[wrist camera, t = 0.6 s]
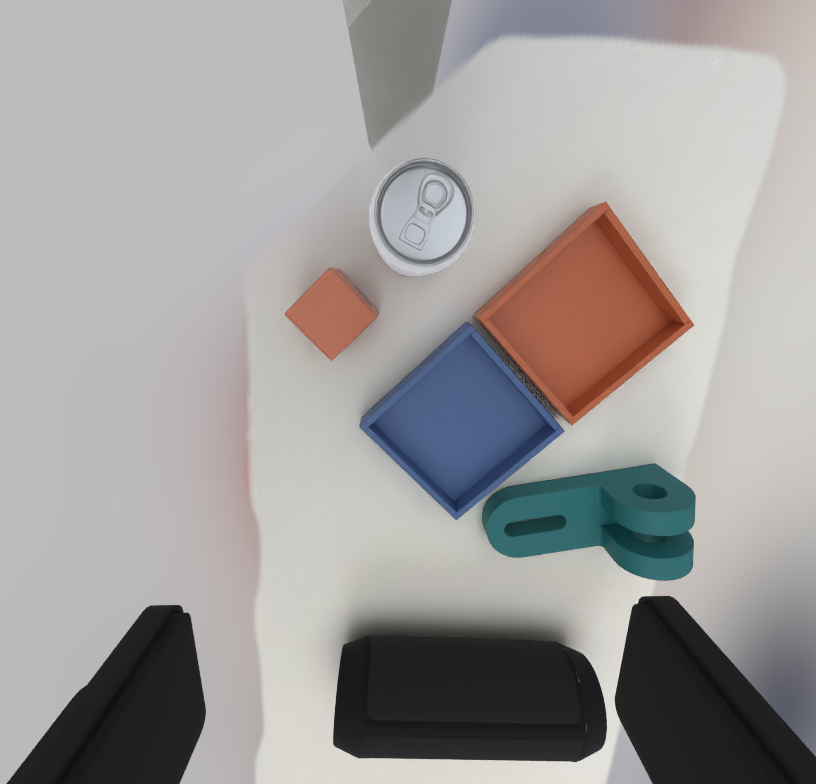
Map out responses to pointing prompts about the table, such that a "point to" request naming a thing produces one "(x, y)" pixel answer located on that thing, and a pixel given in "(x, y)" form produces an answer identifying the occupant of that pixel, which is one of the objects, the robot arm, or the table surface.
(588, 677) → the portable speaker
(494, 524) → the bracket
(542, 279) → the terracotta tray
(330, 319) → the block
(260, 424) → the table surface
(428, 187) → the can
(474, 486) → the blue tray
